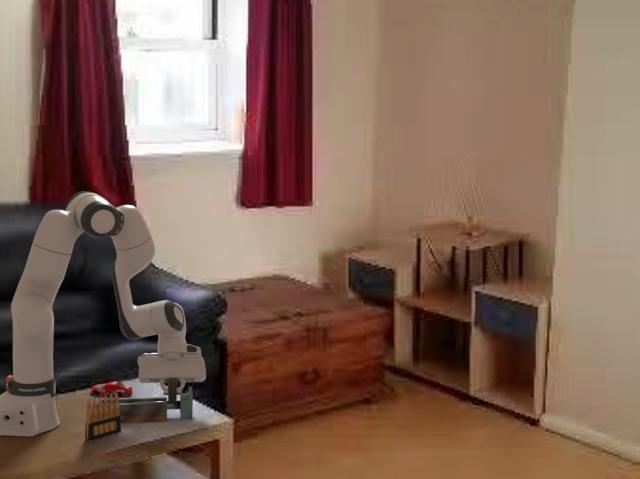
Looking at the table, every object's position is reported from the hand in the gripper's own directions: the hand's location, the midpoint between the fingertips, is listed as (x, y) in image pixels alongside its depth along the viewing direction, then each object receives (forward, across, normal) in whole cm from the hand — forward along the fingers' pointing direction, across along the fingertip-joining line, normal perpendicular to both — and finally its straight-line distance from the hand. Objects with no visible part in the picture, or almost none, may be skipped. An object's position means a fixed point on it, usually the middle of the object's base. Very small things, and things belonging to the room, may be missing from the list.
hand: (172, 394), depth 293 cm
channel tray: (+4, -13, +5) cm, 14 cm away
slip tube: (+3, -4, +4) cm, 6 cm away
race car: (-10, -19, +21) cm, 30 cm away
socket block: (+4, +4, +5) cm, 8 cm away
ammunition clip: (+15, -20, -4) cm, 25 cm away
